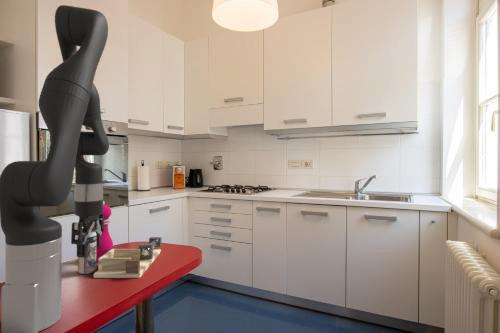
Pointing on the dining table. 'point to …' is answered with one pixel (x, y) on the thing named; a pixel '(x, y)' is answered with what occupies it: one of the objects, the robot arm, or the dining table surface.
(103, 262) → the birch holder
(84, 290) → the dining table surface
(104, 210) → the pink pepper grinder
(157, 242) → the silver and grey bar
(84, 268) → the beer can
